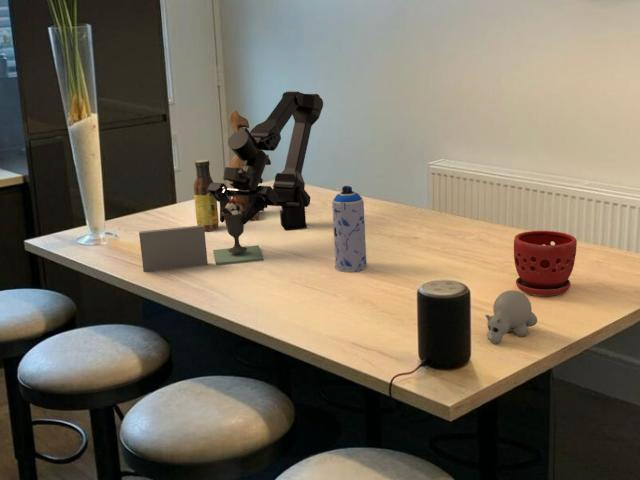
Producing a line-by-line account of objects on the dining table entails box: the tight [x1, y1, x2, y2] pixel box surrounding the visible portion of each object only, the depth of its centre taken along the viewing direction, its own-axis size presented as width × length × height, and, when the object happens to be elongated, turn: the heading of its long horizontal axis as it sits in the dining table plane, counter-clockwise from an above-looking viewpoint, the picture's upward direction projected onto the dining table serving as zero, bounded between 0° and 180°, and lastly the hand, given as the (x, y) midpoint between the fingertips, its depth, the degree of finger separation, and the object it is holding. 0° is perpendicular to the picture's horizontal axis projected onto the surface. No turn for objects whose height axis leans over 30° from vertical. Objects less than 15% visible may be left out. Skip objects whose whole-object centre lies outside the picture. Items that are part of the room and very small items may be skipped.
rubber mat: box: [212, 244, 264, 266], centre depth 244 cm, size 12×12×1 cm
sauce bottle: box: [193, 159, 220, 232], centre depth 269 cm, size 7×6×20 cm
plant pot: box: [513, 230, 578, 297], centre depth 205 cm, size 13×13×12 cm
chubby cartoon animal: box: [485, 289, 538, 344], centre depth 181 cm, size 7×12×8 cm, turn 130°
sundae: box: [221, 192, 247, 253], centre depth 242 cm, size 7×7×15 cm
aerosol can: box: [331, 185, 368, 273], centre depth 227 cm, size 8×8×20 cm
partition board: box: [138, 225, 209, 272], centre depth 237 cm, size 16×2×10 cm, turn 99°
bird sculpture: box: [228, 109, 265, 222], centre depth 278 cm, size 11×12×32 cm
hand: (232, 222), depth 240 cm, fingers open, 6 cm apart
